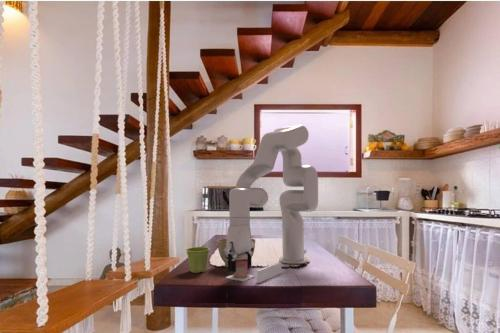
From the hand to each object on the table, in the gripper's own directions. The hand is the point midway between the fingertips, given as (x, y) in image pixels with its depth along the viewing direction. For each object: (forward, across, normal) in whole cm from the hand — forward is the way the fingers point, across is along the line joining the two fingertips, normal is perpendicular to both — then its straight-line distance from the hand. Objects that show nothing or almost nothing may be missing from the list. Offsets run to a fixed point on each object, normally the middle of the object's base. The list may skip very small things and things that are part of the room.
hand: (240, 269), depth 120 cm
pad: (+3, 0, 0) cm, 3 cm away
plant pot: (+3, +1, -20) cm, 20 cm away
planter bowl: (+3, -14, -12) cm, 19 cm away
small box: (+3, 0, 0) cm, 3 cm away
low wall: (+3, -6, +9) cm, 11 cm away
